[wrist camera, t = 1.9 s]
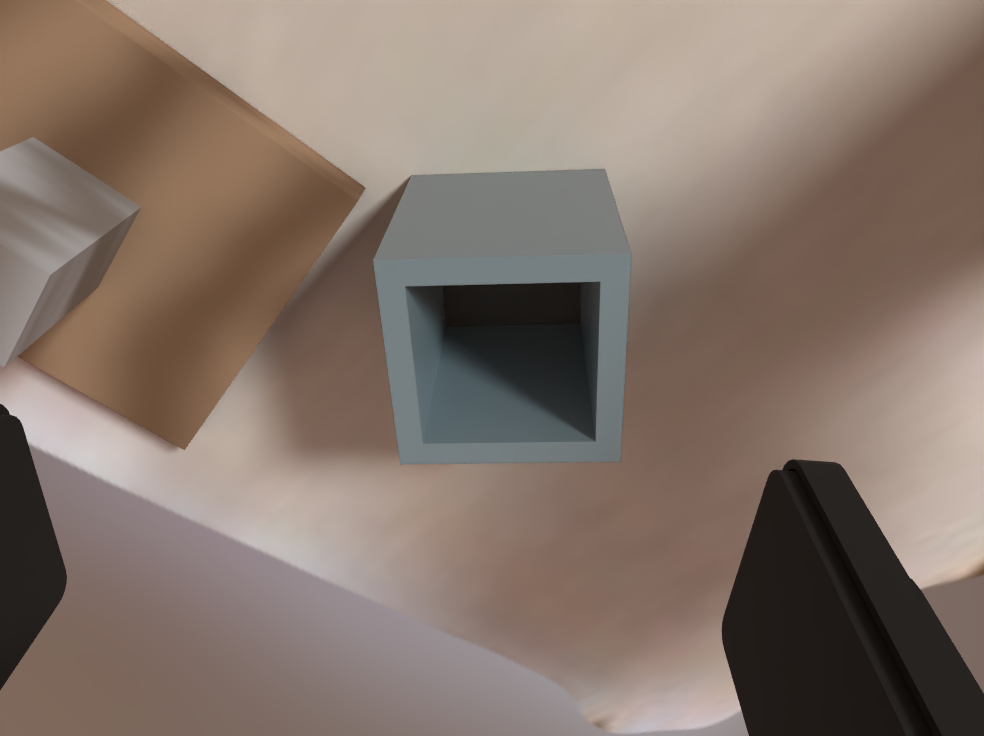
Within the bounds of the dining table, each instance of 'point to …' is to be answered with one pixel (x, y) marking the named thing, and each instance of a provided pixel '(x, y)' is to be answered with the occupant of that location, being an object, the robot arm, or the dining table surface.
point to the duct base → (144, 215)
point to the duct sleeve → (505, 348)
